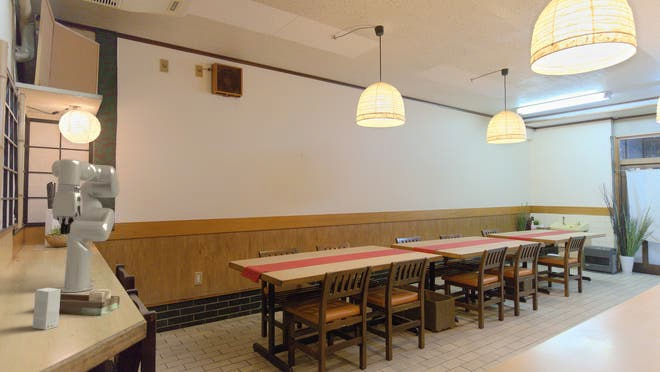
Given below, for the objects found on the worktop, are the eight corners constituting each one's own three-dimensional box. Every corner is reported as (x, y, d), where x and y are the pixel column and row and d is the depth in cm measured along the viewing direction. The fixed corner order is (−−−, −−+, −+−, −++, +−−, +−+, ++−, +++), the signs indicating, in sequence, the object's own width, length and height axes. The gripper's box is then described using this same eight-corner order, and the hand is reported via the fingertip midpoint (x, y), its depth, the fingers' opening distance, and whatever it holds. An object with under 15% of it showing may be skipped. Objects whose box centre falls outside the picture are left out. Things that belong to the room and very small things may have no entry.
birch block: (97, 302, 143) (98, 289, 143) (110, 303, 143) (111, 289, 143) (88, 306, 138) (89, 292, 138) (101, 306, 138) (102, 292, 138)
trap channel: (56, 305, 147) (57, 293, 147) (118, 308, 146) (119, 296, 146) (34, 312, 137) (35, 299, 137) (101, 315, 135) (102, 302, 135)
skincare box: (58, 326, 122) (61, 289, 123) (44, 330, 118) (48, 291, 119) (45, 324, 124) (48, 287, 125) (31, 327, 120) (34, 289, 121)
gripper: (92, 190, 159) (88, 234, 158) (58, 189, 160) (54, 232, 159) (79, 189, 152) (75, 235, 150) (43, 188, 152) (40, 233, 151)
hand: (65, 233), depth 155 cm, fingers closed
